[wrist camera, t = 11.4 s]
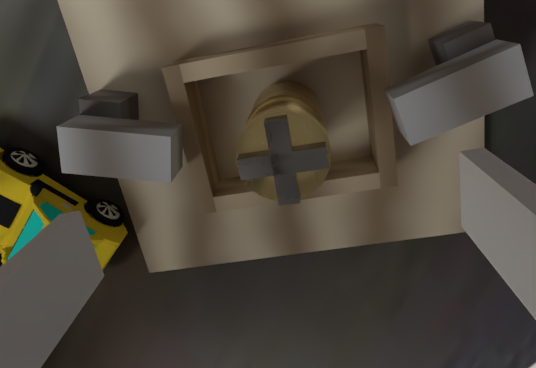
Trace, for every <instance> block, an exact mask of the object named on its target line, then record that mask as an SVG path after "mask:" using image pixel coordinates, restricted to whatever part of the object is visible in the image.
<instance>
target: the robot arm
mask: <svg viewBox="0 0 536 368" xmlns="http://www.w3.org/2000/svg"><path fill="white" fill-rule="evenodd" d="M459 162H460V195H461V226H462V228H463V229H464V230H465V231H466V233H467V234H468V235H469V237H470V238H471V239H472V240H473V242H474V243H475V244H476V245H477V247H478V248H479V249H480V250H481V252H482V253H483V254H484V255H485V257H486V258H487V259H488V260H489V262H490V263H491V264H492V266H493V267H494V268H495V269H496V271H497V272H498V273H499V274H500V276H501V277H502V278H503V279H504V281H505V282H506V283H507V284H508V286H509V287H510V288H511V289H512V291H513V292H514V293H515V295H516V296H517V297H518V298H519V300H520V301H521V302H522V303H523V305H524V306H525V307H526V308H527V310H528V311H529V312H530V313H531V315H532V316H533V317H534V318H535V320H536V184H535V183H533V182H532V181H530V180H529V179H528V178H526V177H525V176H523V175H522V174H520V173H519V172H518V171H516V170H515V169H513V168H512V167H511V166H509V165H508V164H506V163H505V162H504V161H502V160H501V159H499V158H498V157H497V156H495V155H494V154H492V153H491V152H490V151H488V150H487V149H485V148H484V147H483V148H476V149H470V150H464V151H459ZM103 277H104V273H103V271H102V268H101V265H100V263H99V260H98V257H97V255H96V252H95V249H94V247H93V244H92V241H91V239H90V236H89V233H88V231H87V228H86V225H85V223H84V220H83V217H82V215H81V212H80V211H76V212H70V213H63V214H60V215H58V216H57V217H56V218H55V219H54V220H53V221H52V222H51V223H49V224H48V225H47V226H46V227H45V228H44V229H43V230H42V231H41V232H39V233H38V234H37V235H36V236H35V237H34V238H33V239H32V240H30V241H29V242H28V243H27V244H26V245H25V246H24V247H23V248H21V249H20V250H19V251H18V252H17V253H16V254H15V255H14V256H13V257H11V258H10V259H9V260H8V261H7V262H6V263H5V264H4V265H2V266H1V267H0V368H41V367H42V365H43V364H44V363H45V361H46V360H47V358H48V357H49V355H50V354H51V352H52V351H53V350H54V348H55V347H56V345H57V344H58V342H59V341H60V339H61V338H62V337H63V335H64V334H65V332H66V331H67V329H68V328H69V327H70V325H71V324H72V322H73V321H74V319H75V318H76V316H77V315H78V314H79V312H80V311H81V309H82V308H83V306H84V305H85V303H86V302H87V301H88V299H89V298H90V296H91V295H92V293H93V292H94V290H95V289H96V288H97V286H98V285H99V283H100V282H101V280H102V279H103Z"/></svg>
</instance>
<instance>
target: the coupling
mask: <svg viewBox="0 0 536 368" xmlns="http://www.w3.org/2000/svg"><path fill="white" fill-rule="evenodd" d="M236 163H237V168H238V171H239V174H240V178H241V180H243V181H244V182H245V183H246V184H247V186H248V187H249V188H250V189H251V190H253V191H254V192H255V193H257V194H258V195H260V196H262V197H264V198H267V199H270V200H274V201H278V204H279V206H282V205H290V204H298V203H300V199H301V198H304V197H306V196H308V195H309V194H311V193H313V192H314V191H315V190H316V189H317V188H318V187H319V186H320V185H321V184H322V183H323V181H324V180H325V178H326V176H327V175H328V172H329V169H330V165H331V148H330V144H329V139H328V134H327V130H326V125H325V121H324V116H323V112H322V107H321V104H320V101H319V99H318V98H317V96H316V95H315V93H314V92H313V91H312V90H311V89H309V88H308V87H307V86H305V85H303V84H301V83H298V82H295V81H280V82H276V83H274V84H272V85H270V86H268V87H267V88H265V89H264V90H263V91H262V92H261V93H260V94H259V96H258V97H257V99H256V101H255V103H254V106H253V108H252V110H251V113H250V115H249V117H248V120H247V122H246V125H245V127H244V129H243V132H242V134H241V136H240V139H239V141H238V144H237V149H236Z"/></svg>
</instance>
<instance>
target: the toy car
mask: <svg viewBox="0 0 536 368" xmlns="http://www.w3.org/2000/svg"><path fill="white" fill-rule="evenodd" d="M4 151H5V150H3V149H2V148H0V266H1V264H2V263H3V265H4V264H5V263H6V262H7V261H8V260H9V259H10V258H11V257H13V256H14V255H15V254H16V253H17V252H18V251H19V250H20V249H21V248H23V247H24V246H25V245H26V244H27V243H28V242H29V241H30V240H32V239H33V238H34V237H35V236H36V235H37V234H38V233H39V232H41V231H42V230H43V229H44V228H45V227H46V226H47V225H48V224H49V223H51V222H52V221H53V220H54V219H55V218H56V217H57V216H58V215H60V214H63V213H70V212H76V211H80V212H81V215H82V217H83V220H84V223H85V225H86V228H87V231H88V233H89V236H90V239H91V241H92V244H93V247H94V249H95V252H96V255H97V257H98V260H99V263H100V265H101V268H102V271H103V269H104V268H105V266H106V265H107V263H108V262H109V260H110V259H111V257H112V256H113V254H114V253H115V251H116V250H117V248H118V247H119V245H120V244H121V242H122V241H123V239H124V238H125V236H126V235H127V233H128V232H127V229H126V228H125V226H124V224H123V223H122V221H123V219H124V214H123V212H122V210H121V209H120V208H119V207H118V206H117V205H115V204H114V203H112V202H110V201H107V200H96V201H94V202H93V203H92V204H91V206H90V205H89V204H86V203H87V201H86V200H85V199H83V198H82V197H80V196H78V195H77V194H75V193H73V192H72V191H70V190H68V189H67V188H65V187H64V186H62V185H60V184H59V183H57V182H55V181H54V180H52V179H51V178H49V177H47V176H46V175H44V174H42V175H41V176H38V177H34V175H28V174H35V173H38V172H39V171H40V170H41V169H42V162H41V160H40V159H39V158H38V157H37V156H36V155H34V154H33V153H31V152H30V151H27V150H24V149H20V148H12V149H8V150H7V151H6V152H5V153H4ZM3 153H4V160H5V161H4V162H3V161H2V156H3ZM24 173H25V174H24ZM85 205H86V206H85ZM120 223H122V225H121V226H120V227H114V226H115V225H119V224H120ZM1 246H2V247H1ZM2 248H3V249H2Z"/></svg>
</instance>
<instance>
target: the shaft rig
mask: <svg viewBox="0 0 536 368" xmlns="http://www.w3.org/2000/svg"><path fill="white" fill-rule="evenodd" d="M58 3H59V6H60V9H61V12H62V15H63V18H64V21H65V24H66V27H67V30H68V33H69V36H70V39H71V42H72V45H73V48H74V51H75V54H76V57H77V59H78V62H79V65H80V68H81V71H82V74H83V77H84V80H85V83H86V86H87V89H88V92H89V95H87V96H84V97H82V98H80V99H79V110H80V115H78V116H76V117H74V118H72V119H70V120H68V121H66V122H64V123H62V124H60V125H58V126H56V127H57V136H58V145H59V154H60V163H61V172H62V173H68V174H79V175H89V176H100V177H111V178H118V181H119V184H120V187H121V190H122V193H123V196H124V199H125V202H126V205H127V208H128V211H129V214H130V217H131V220H132V223H133V226H134V229H135V232H136V235H137V238H138V240H139V243H140V246H141V249H142V252H143V255H144V258H145V261H146V264H147V267H148V270H149V273H153V272H161V271H168V270H176V269H184V268H192V267H199V266H207V265H215V264H223V263H230V262H238V261H246V260H254V259H261V258H269V257H277V256H285V255H292V254H300V253H308V252H316V251H323V250H331V249H339V248H347V247H354V246H362V245H370V244H378V243H385V242H393V241H401V240H409V239H416V238H424V237H432V236H439V235H447V234H455V233H463V232H466V231H465V230H464V229H463V228H462V226H461V195H460V162H459V151H464V150H470V149H476V148H483V147H484V116H485V115H488V114H490V113H493V112H495V111H498V110H500V109H502V108H505V107H507V106H510V105H512V104H515V103H517V102H520V101H522V100H524V99H527V98H529V97H532V96H534V95H533V91H532V87H531V83H530V79H529V76H528V72H527V68H526V64H525V60H524V57H523V53H522V49H521V45H520V44H518V43H513V42H508V41H502V40H497V39H496V40H495V36H494V33H493V29H492V26H491V23H489V22H484V0H58ZM280 81H295V82H298V83H301V84H303V85H305V86H307V87H308V88H309V89H311V90H312V91H313V92H314V93H315V95H316V96H317V98H318V99H319V101H320V104H321V107H322V112H323V116H324V121H325V125H326V130H327V134H328V139H329V144H330V148H331V165H330V169H329V172H328V175H327V176H326V178H325V180H324V181H323V183H322V184H321V185H320V186H319V187H318V188H317V189H316V190H315V191H314V192H313V193H311V194H309V195H308V196H306V197H304V198H301V199H300V203H298V204H290V205H282V206H279V204H278V201H274V200H270V199H267V198H264V197H262V196H260V195H258V194H257V193H255V192H254V191H253V190H251V189H250V188H249V187H248V186H247V184H246V183H245V182H244V181H243V180H241V178H240V174H239V171H238V168H237V163H236V149H237V144H238V141H239V139H240V136H241V134H242V132H243V129H244V127H245V125H246V122H247V120H248V117H249V115H250V113H251V110H252V108H253V106H254V103H255V101H256V99H257V97H258V96H259V94H260V93H261V92H262V91H263V90H264V89H265V88H267V87H268V86H270V85H272V84H274V83H276V82H280Z"/></svg>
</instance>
